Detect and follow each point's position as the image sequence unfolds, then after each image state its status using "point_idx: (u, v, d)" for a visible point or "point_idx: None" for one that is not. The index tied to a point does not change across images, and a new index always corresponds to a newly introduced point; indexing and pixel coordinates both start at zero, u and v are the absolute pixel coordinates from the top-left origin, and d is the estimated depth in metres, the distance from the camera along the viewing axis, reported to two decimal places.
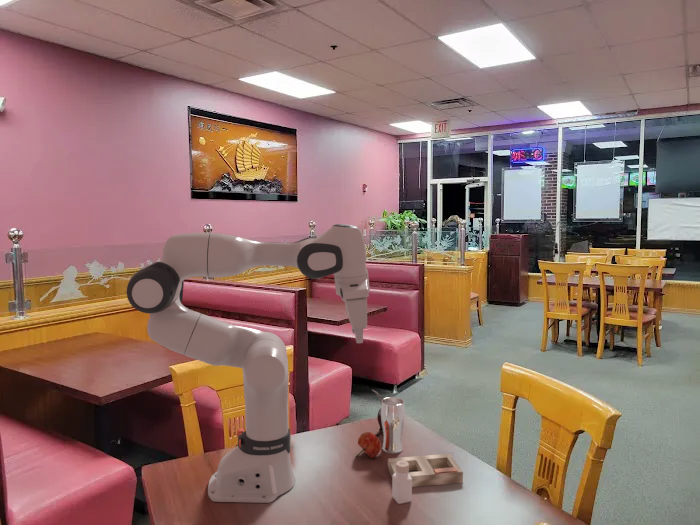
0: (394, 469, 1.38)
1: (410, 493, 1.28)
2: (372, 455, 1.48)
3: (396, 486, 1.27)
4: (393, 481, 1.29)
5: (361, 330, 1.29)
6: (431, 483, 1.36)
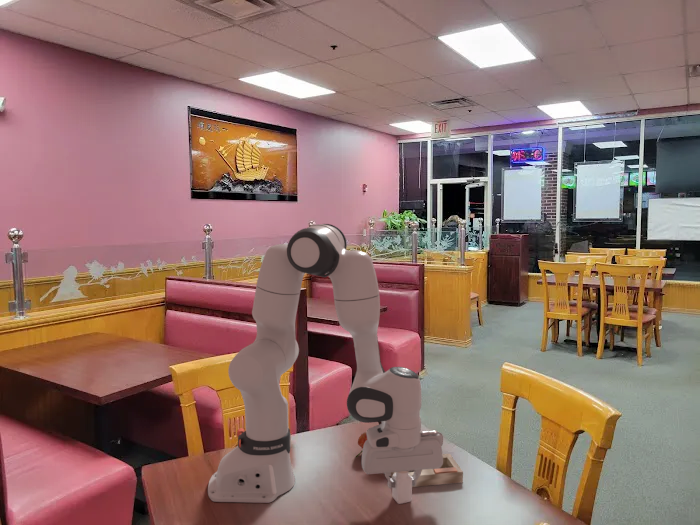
0: None
1: (410, 493, 1.28)
2: None
3: (396, 486, 1.27)
4: None
5: (385, 475, 1.27)
6: (431, 483, 1.36)
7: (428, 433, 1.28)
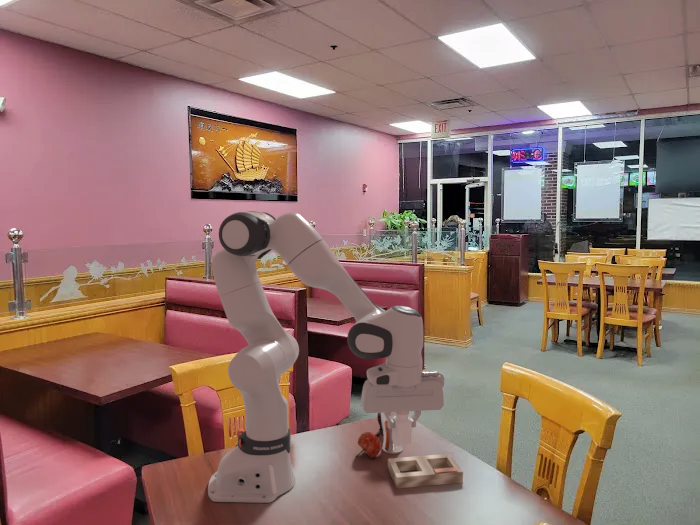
0: (394, 469, 1.38)
1: (409, 436, 1.26)
2: (372, 455, 1.48)
3: (395, 427, 1.25)
4: None
5: (385, 415, 1.25)
6: (431, 483, 1.36)
7: (429, 374, 1.26)
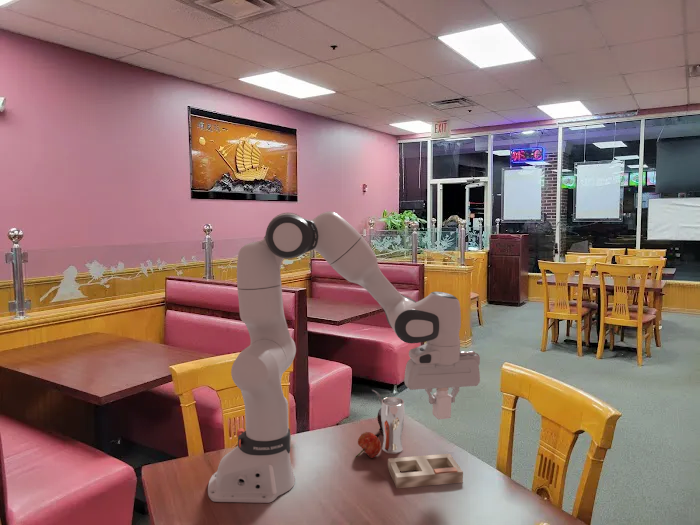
0: (394, 469, 1.38)
1: (449, 410, 1.37)
2: (372, 455, 1.48)
3: (436, 403, 1.37)
4: None
5: (426, 391, 1.37)
6: (431, 483, 1.36)
7: (466, 353, 1.38)
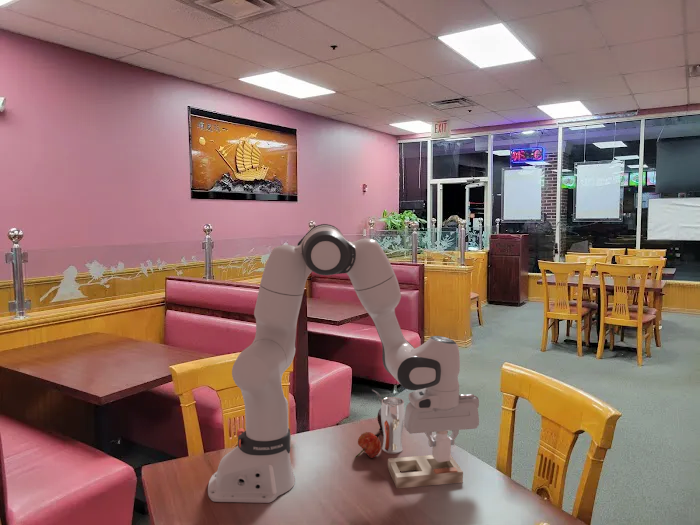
0: (394, 469, 1.38)
1: (449, 453, 1.39)
2: (372, 455, 1.48)
3: (436, 446, 1.38)
4: None
5: (426, 434, 1.38)
6: (431, 483, 1.36)
7: (465, 396, 1.39)
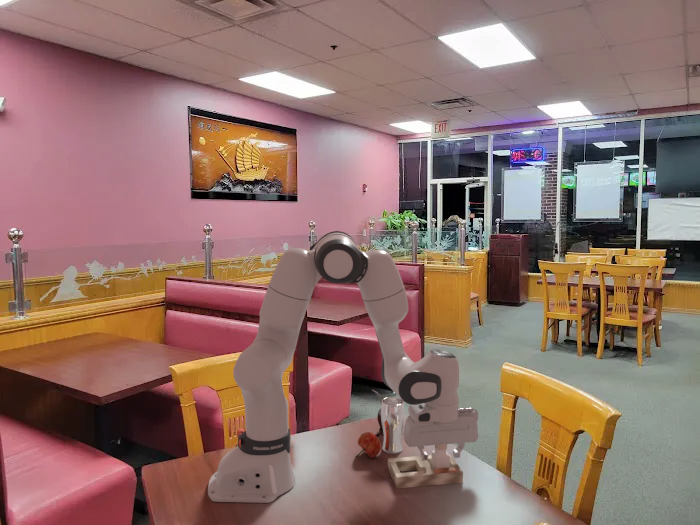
0: (394, 469, 1.38)
1: None
2: (372, 455, 1.48)
3: (435, 461, 1.39)
4: (432, 457, 1.41)
5: (418, 448, 1.39)
6: (431, 483, 1.36)
7: (464, 409, 1.40)
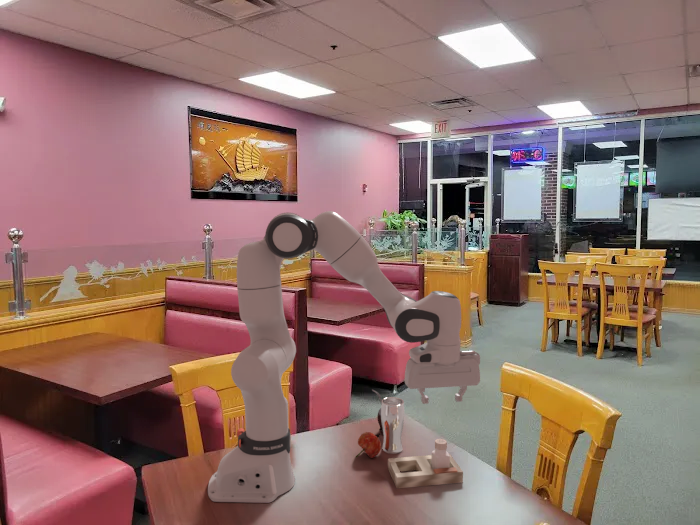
0: (394, 469, 1.38)
1: None
2: (372, 455, 1.48)
3: (435, 461, 1.39)
4: (432, 457, 1.41)
5: (419, 391, 1.37)
6: (431, 483, 1.36)
7: (466, 352, 1.38)
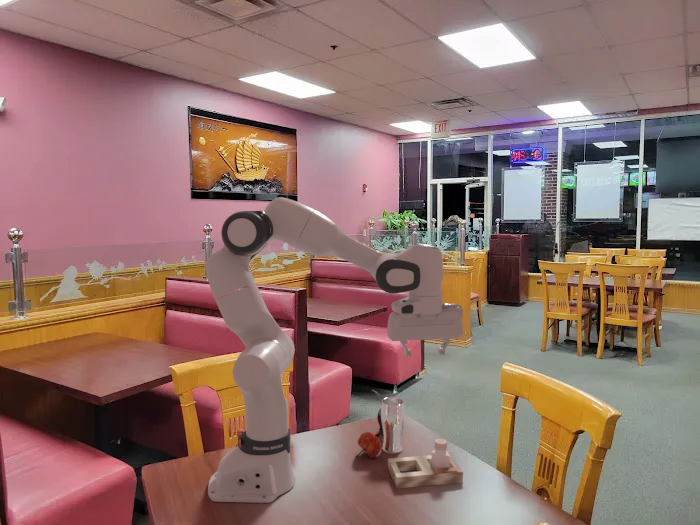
0: (394, 469, 1.38)
1: None
2: (372, 455, 1.48)
3: (435, 461, 1.39)
4: (432, 457, 1.41)
5: (402, 344, 1.36)
6: (431, 483, 1.36)
7: (449, 305, 1.37)
